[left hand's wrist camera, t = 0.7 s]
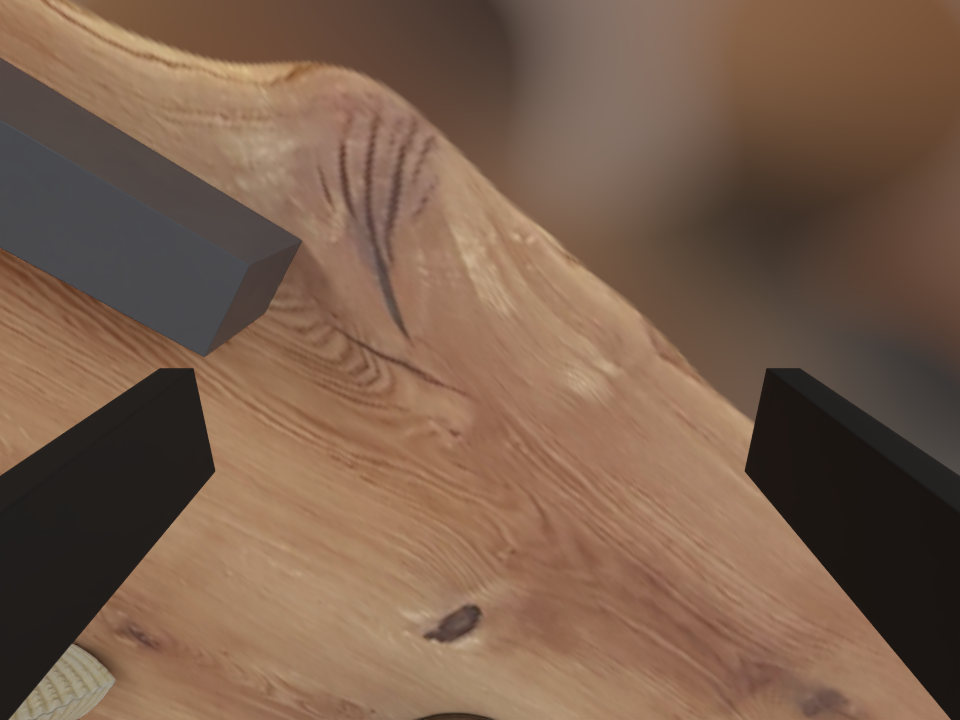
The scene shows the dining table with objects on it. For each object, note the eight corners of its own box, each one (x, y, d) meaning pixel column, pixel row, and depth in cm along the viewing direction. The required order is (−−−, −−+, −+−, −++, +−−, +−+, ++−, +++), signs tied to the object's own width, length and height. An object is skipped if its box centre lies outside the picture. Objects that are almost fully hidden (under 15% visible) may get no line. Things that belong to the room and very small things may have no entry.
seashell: (-40, 648, 44) (-2, 682, 40) (78, 611, 51) (121, 638, 47) (-49, 747, 44) (-12, 792, 40) (71, 696, 51) (113, 730, 47)
